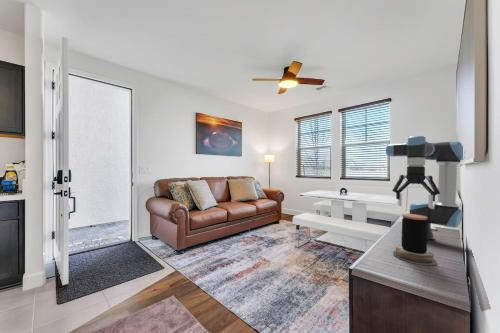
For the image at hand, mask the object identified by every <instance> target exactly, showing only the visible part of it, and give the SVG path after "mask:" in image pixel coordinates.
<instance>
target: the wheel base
mask: <svg viewBox="0 0 500 333" xmlns="http://www.w3.org/2000/svg"><path fill="white" fill-rule="evenodd" d="M392 255H393V256H394V257H395V258H397V259H399V260H401V261H404V262H406V263H410V264H413V265H418V266H424V267H425V266H428V267H429V266H431V267H432V266H435V265H437V261H436V259H435V258H434V261H433V262H432V263H419V262H414V261H410V260H407V259H404V258H401V257H399V256H398V255H396V250H394V251H393V252H392Z"/></svg>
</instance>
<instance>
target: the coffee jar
mask: <svg viewBox="0 0 500 333" xmlns="http://www.w3.org/2000/svg"><path fill="white" fill-rule="evenodd" d="M426 220H427V217H426V216H422V215H416V214H410V213H402V220H401V245H402V247H403V249H404V250H406V251H408V252H412V253H417V254H424V253H426V252H427V250H428V240H427V221H426Z"/></svg>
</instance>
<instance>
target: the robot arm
mask: <svg viewBox="0 0 500 333" xmlns="http://www.w3.org/2000/svg"><path fill="white" fill-rule="evenodd" d="M426 139H427V138H426V136H425V135H422V136H421V135H417V136H416V135H414V136H409V137H408V138H407V143H389V144H387V145H386V146H385V154H386V156H388V157H406V165H407V166H406V175H404V174H400V175H399V178H398V180H397V182H396V183H395V185H394V187H393V189H392V192H394V193H395V194H396V195H395V196H396V200H397V206H399V207H402V205H403V204H402V203H403V200H402V198H403V195H402V194H403V193H402V192H403V191H404V190H405V189H406V188H407V187H408V186H409V185H410V184H411V185H415V184H416V185H421V186H422V187H423V188H424V189H425V190H426V191H427V192H428V193H429V194H428V202H413V203H411V204H410V205H409V214H416V215H422V216H426V217H427V220H426V221H427V239H433V238H434V236H435V235H434V233H433V229H432V227H431V224H432V225H439V226H443V227H447V228H458V227H459V226H460V224H461V223H462V219H463V215H464V214H463V210H462V209H461V208H460V207H459V205H458V204H457V203H456V202H457V201H456V200H457V178H458V177H457V174H458V172H457V170H458V165H460V164H461V161H463V160H464V159H463V148H464V146H463V144H462V142H460V141H441V142H428V141H427V140H426ZM427 160H428V161H435V163H436V164H437V165H438V181H437V182H438V184H437V185H438V186H437V185H436V184H435V182H434V179H433V176H432V175H426V167H425V165H426V161H427ZM405 179H406V181H405V183H403V181H404V180H405ZM425 180H426V181H427V182H428V184H429V185H428V184H427V182H425ZM402 183H403V184H402ZM401 184H402V185H401ZM436 196H437V202H435V201H436ZM434 202H435V203H434ZM434 239H435V238H434ZM434 239H433V240H434Z"/></svg>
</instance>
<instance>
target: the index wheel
mask: <svg viewBox="0 0 500 333" xmlns="http://www.w3.org/2000/svg"><path fill="white" fill-rule="evenodd" d="M395 251H396V255H398V256H399V257H401V258H404V259H407V260H410V261H414V262H419V263H432V262H433V261H434V259H435V257H434V256H435V255H434V253H433V252H432V251H430V250H428V249H427V252H426V253H424V254H417V253H412V252H408V251H406V250H404V249H403V247H402V244H399V245H396V246H395Z"/></svg>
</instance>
